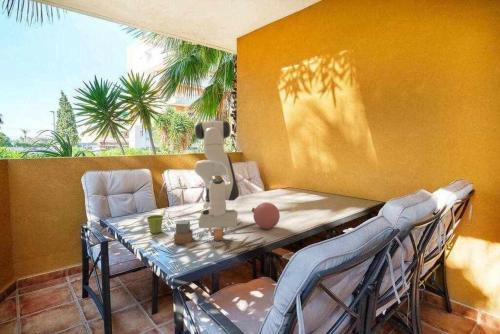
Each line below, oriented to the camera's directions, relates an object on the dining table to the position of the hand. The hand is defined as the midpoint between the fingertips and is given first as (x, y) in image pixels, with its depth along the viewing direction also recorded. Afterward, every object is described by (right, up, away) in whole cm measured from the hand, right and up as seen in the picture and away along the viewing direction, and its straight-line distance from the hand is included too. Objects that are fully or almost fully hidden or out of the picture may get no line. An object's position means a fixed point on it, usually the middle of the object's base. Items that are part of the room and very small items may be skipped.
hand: (218, 235), depth 154 cm
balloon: (+25, 0, +19) cm, 32 cm away
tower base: (-18, -2, -2) cm, 18 cm away
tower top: (-18, +3, -3) cm, 18 cm away
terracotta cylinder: (0, -2, 0) cm, 2 cm away
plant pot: (-38, -1, +13) cm, 40 cm away
